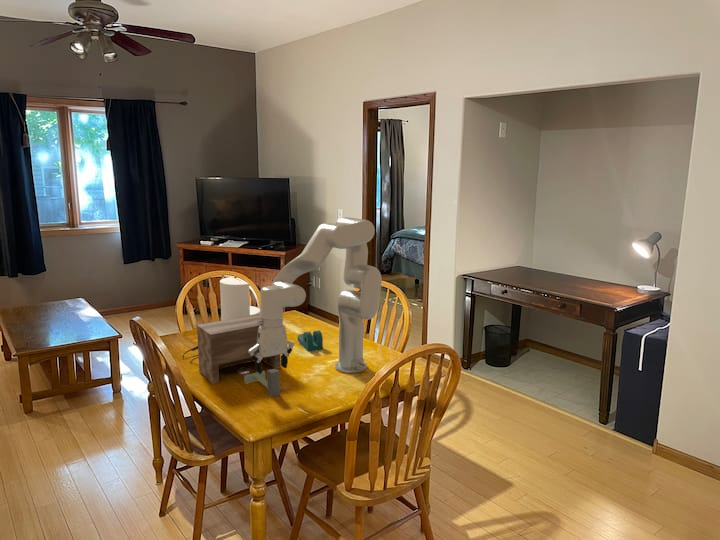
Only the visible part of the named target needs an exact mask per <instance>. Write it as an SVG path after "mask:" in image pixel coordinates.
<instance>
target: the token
mask: <svg viewBox="0 0 720 540" xmlns="http://www.w3.org/2000/svg"><path fill="white" fill-rule="evenodd" d="M236 373H237V374H238V375H241V376H244V375H248V374H251V368H249V367H239V368H237V370H236Z"/></svg>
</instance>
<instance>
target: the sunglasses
mask: <svg viewBox="0 0 720 540" xmlns="http://www.w3.org/2000/svg"><path fill="white" fill-rule="evenodd" d="M197 350H198V345H197V346H195V347H193V348H191V349H189V350H187V351H185V352H184V353H183V354H182V359H183V358H185V355H186V354H187V353H189V352H191V351H197ZM196 359H199V356H198V357H195V358H192V360H190V362H192V363H193V361H194V360H196Z"/></svg>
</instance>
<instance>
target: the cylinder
mask: <svg viewBox="0 0 720 540" xmlns="http://www.w3.org/2000/svg"><path fill="white" fill-rule="evenodd" d="M219 289H220V290H219V291H220V293H219V295H220V314H221V316H220V319H221V320H220V321H222V320H228V319H234V318H239V317H245V316H251V315H256V314H260V308H259V307H257V306H254V305H253V306H252V305H250V283H248V282H245V281H242V280H240V279H237V278H235V277H233V276H227V277H223V278H222V279H220V280H219Z"/></svg>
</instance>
